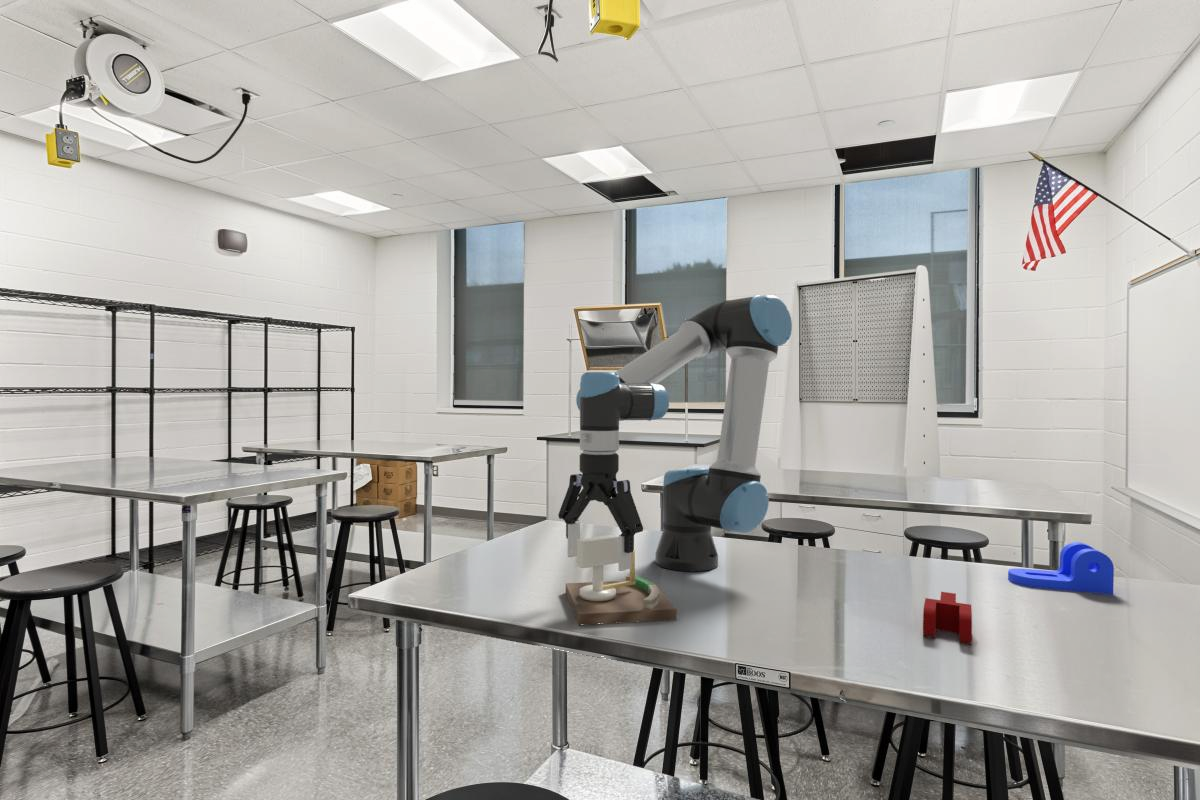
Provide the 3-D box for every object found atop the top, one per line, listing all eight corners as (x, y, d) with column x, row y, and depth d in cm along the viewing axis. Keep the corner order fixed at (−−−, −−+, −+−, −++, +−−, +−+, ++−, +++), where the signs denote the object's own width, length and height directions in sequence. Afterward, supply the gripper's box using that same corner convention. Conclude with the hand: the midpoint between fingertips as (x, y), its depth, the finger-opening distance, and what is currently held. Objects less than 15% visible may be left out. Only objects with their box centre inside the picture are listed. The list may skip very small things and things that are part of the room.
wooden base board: (650, 589, 134) (650, 572, 134) (676, 619, 116) (676, 600, 116) (565, 593, 131) (565, 576, 131) (578, 625, 112) (578, 605, 112)
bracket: (1095, 583, 142) (1096, 543, 141) (1113, 595, 134) (1114, 552, 133) (1003, 576, 147) (1003, 537, 147) (1014, 586, 139) (1015, 545, 139)
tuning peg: (570, 593, 123) (571, 536, 123) (624, 583, 130) (625, 530, 130) (588, 603, 117) (589, 544, 117) (644, 593, 124) (644, 536, 124)
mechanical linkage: (971, 648, 104) (971, 618, 104) (922, 640, 108) (923, 610, 108) (970, 619, 118) (970, 592, 118) (927, 612, 122) (927, 586, 122)
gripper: (541, 449, 128) (540, 554, 128) (636, 458, 111) (635, 580, 111) (568, 446, 133) (567, 547, 134) (662, 455, 116) (661, 571, 116)
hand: (598, 562), depth 122 cm, fingers open, 13 cm apart
